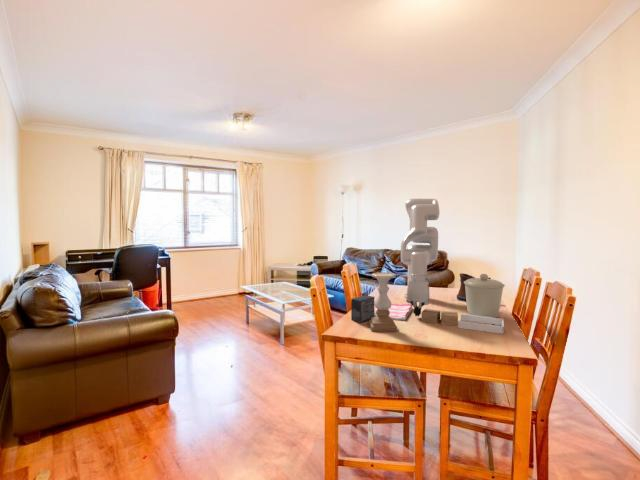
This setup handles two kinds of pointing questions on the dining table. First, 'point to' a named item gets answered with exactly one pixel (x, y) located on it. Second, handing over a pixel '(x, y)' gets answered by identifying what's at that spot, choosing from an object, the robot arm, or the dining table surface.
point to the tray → (480, 326)
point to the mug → (463, 286)
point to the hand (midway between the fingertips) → (417, 315)
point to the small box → (362, 308)
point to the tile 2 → (449, 318)
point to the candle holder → (382, 306)
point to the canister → (483, 296)
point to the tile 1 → (431, 315)
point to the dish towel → (398, 311)
